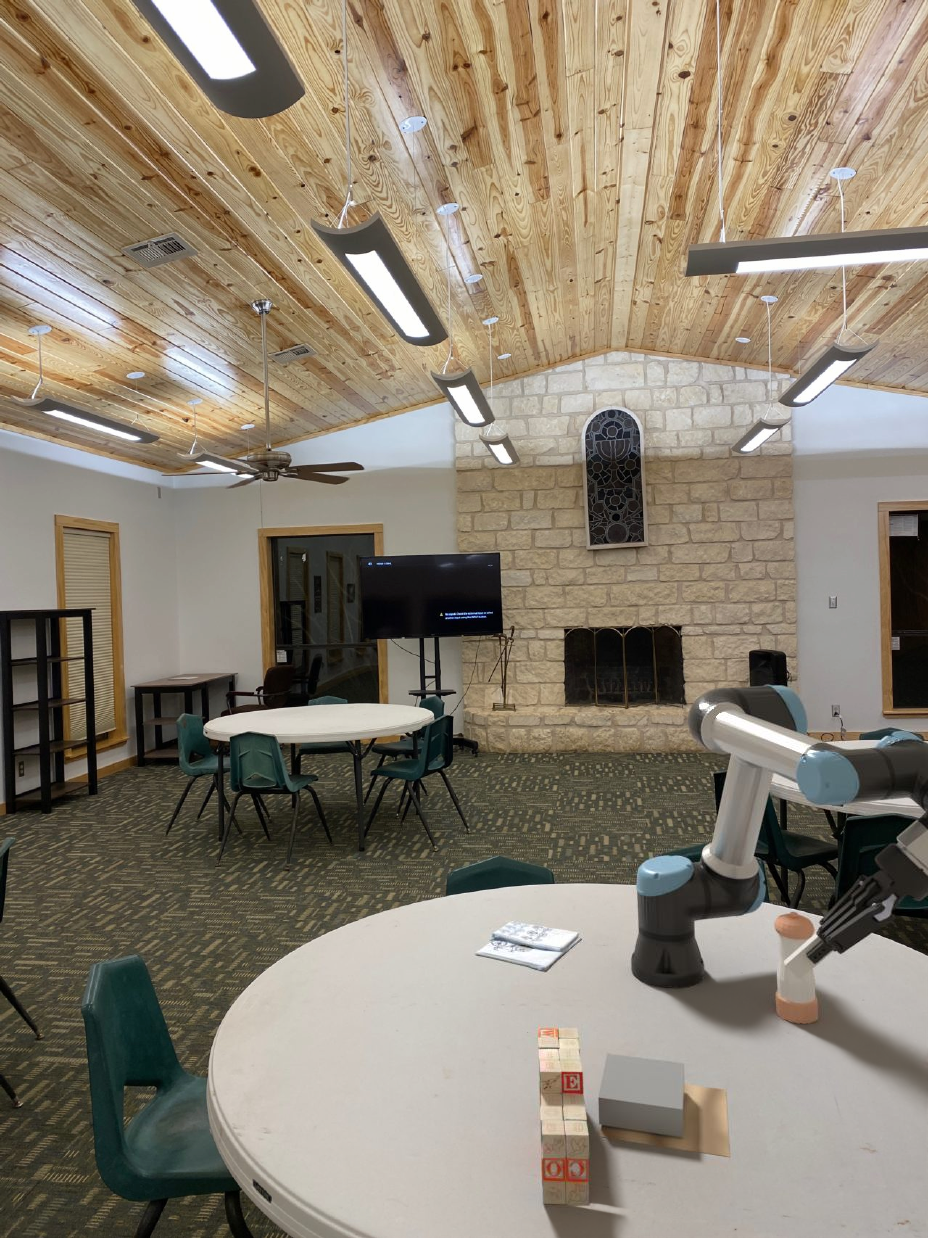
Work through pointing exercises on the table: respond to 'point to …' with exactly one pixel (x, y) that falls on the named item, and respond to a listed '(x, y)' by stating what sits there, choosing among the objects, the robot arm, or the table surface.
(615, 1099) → the block
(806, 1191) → the table surface
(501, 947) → the folded white cloth
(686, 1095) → the mat
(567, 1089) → the stack of blocks
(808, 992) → the salt shaker
